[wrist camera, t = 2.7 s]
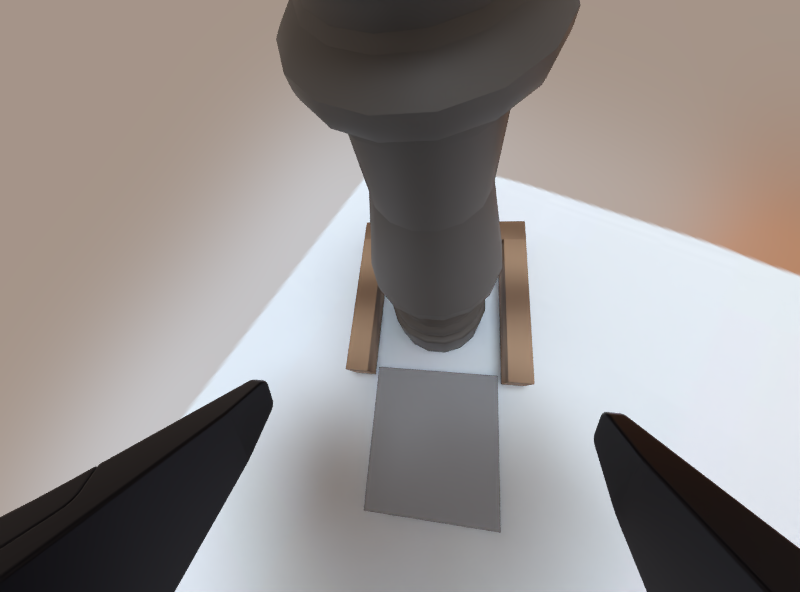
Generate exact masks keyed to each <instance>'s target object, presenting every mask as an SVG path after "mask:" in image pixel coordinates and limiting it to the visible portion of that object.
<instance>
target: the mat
mask: <svg viewBox="0 0 800 592" xmlns="http://www.w3.org/2000/svg"><path fill="white" fill-rule="evenodd" d="M364 510H365V511H372V512H378V513H384V514H390V515H396V516H402V517H408V518H415V519H421V520H427V521H433V522H439V523H445V524H451V525H458V526H464V527H470V528H476V529H482V530H488V531H494V532H501V528H500V478H499V429H498V379H497V376H491V375H478V374H465V373H452V372H439V371H426V370H413V369H400V368H387V367H379V376H378V385H377V394H376V403H375V412H374V422H373V431H372V440H371V449H370V458H369V468H368V477H367V486H366V495H365V505H364Z"/></svg>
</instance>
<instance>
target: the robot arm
mask: <svg viewBox="0 0 800 592" xmlns="http://www.w3.org/2000/svg"><path fill="white" fill-rule="evenodd" d="M272 407H273V400H272V396H271V393H270V390H269V387H268V384H267V382H266V381H263V380H250V381H248V382H246V383H245V384H243V385H241V386H239V387H237V388H236V389H234V390H232V391H230V392H228V393H227V394H225V395H223V396H221V397H219V398H218V399H216V400H214V401H212V402H210V403H209V404H207V405H205V406H203V407H201V408H200V409H198V410H196V411H194V412H192V413H191V414H189V415H187V416H185V417H183V418H182V419H180V420H178V421H176V422H174V423H173V424H171V425H169V426H167V427H166V428H164V429H162V430H160V431H158V432H157V433H155V434H153V435H151V436H149V437H148V438H146V439H144V440H142V441H140V442H138V443H137V444H135V445H133V446H131V447H130V448H128V449H126V450H124V451H122V452H121V453H119V454H117V455H115V456H113V457H111V458H110V459H108V460H106V461H104V462H102V463H101V464H99V465H98V467H93V468H92V469H90V470H88V471H86V472H84V473H83V474H81V475H79V476H77V477H76V478H74V479H72V480H70V481H68V482H66V483H65V484H63V485H61V486H59V487H57V488H55V489H54V490H52V491H50V492H48V493H46V494H44V495H42V496H40V497H39V498H37V499H35V500H33V501H31V502H29V503H27V504H25V505H23V506H21V507H20V508H17V509H15V510H13V511H11V512H9V513H7V514H5V515H4V516H2V517H0V592H175V590H176V588H177V587H178V585H179V583H180V581H181V579H182V578H183V576H184V574H185V572H186V571H187V569H188V567H189V565H190V564H191V562H192V560H193V558H194V556H195V555H196V553H197V551H198V549H199V548H200V546H201V544H202V542H203V541H204V539H205V537H206V535H207V533H208V532H209V530H210V528H211V526H212V525H213V523H214V521H215V519H216V518H217V516H218V514H219V512H220V510H221V509H222V507H223V505H224V503H225V502H226V500H227V498H228V496H229V495H230V493H231V491H232V489H233V487H234V486H235V484H236V482H237V480H238V479H239V477H240V475H241V473H242V472H243V470H244V468H245V466H246V464H247V462H248V460H249V458H250V456H251V454H252V452H253V450H254V448H255V446H256V443H257V441H258V439H259V437H260V435H261V432H262V430H263V428H264V426H265V424H266V421H267V419H268V417H269V415H270V412H271V410H272ZM594 444H595V448H596V451H597V454H598V458H599V461H600V464H601V468H602V471H603V475H604V478H605V481H606V485H607V488H608V491H609V495H610V498H611V501H612V505H613V508H614V511H615V514H616V516H617V519H618V522H619V524H620V527H621V529H622V532H623V534H624V537H625V539H626V542H627V544H628V546H629V549H630V551H631V554H632V556H633V559H634V561H635V564H636V566H637V569H638V571H639V574H640V576H641V578H642V581H643V583H644V586H645V588H646V591H647V592H800V548H798V547H797V546H796V545H794V544H793V543H792V542H790V541H789V540H788V539H787V538H785V537H784V536H783V535H781V534H780V533H779V532H777V531H776V530H775V529H773V528H772V527H771V526H770V525H768V524H767V523H766V522H764V521H763V520H762V519H760V518H759V517H758V516H756V515H755V514H754V513H753V512H751V511H750V510H749V509H747V508H746V507H745V506H743V505H742V504H741V503H739V502H738V501H737V500H736V499H734V498H733V497H732V496H730V495H729V494H728V493H726V492H725V491H724V490H722V489H721V488H720V487H719V486H717V485H716V484H715V483H713V482H712V481H711V480H709V479H708V478H707V477H705V476H704V475H703V474H702V473H700V472H699V471H698V470H696V469H695V468H694V467H692V466H691V465H690V464H689V463H687V462H686V461H685V460H683V459H682V458H681V457H679V456H678V455H677V454H675V453H674V452H673V451H672V450H670V449H669V448H668V447H666V446H665V445H664V444H662V443H661V442H660V441H658V440H657V439H656V438H655V437H653V436H652V435H651V434H649V433H648V432H647V431H645V430H644V429H643V428H641V427H640V426H639V425H638V424H636V423H635V422H634V421H632V420H631V419H630V418H628V417H627V416H626V415H624V414H621V413H611V412H604V413H603V414H602V415H601V417H600V420H599V423H598V426H597V428H596V431H595V434H594Z"/></svg>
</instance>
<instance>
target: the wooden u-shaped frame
mask: <svg viewBox="0 0 800 592" xmlns="http://www.w3.org/2000/svg"><path fill="white" fill-rule="evenodd" d="M499 224H500V231H501V239H502V270H501V272H500V274H499V307H500V348H501V384H506V385H518V386H527V385H532V384H534V368H533V351H532V335H531V318H530V301H529V284H528V268H527V251H526V234H525V221H511V222H499ZM383 304H384V293H383V292H382V291H381V290H380V288H379V287H378V284H377V281H376V278H375V274H374V271H373V267H372V264H371V228H370V223H367V226H366V233H365V240H364V247H363V254H362V261H361V268H360V274H359V281H358V288H357V295H356V302H355V309H354V316H353V323H352V330H351V336H350V343H349V350H348V357H347V364H346V369H347V370H351V371H354V372H358V373H370V374H376V366H377V357H378V348H379V339H380V330H381V321H382V313H383Z"/></svg>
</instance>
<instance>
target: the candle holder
mask: <svg viewBox="0 0 800 592" xmlns="http://www.w3.org/2000/svg"><path fill="white" fill-rule="evenodd" d="M579 7H580V1H579V0H289V2H288V4H287V7H286V10H285V13H284V15H283V18H282V21H281V24H280V27H279V30H278V34H277V39H276V40H277V44H278V49H279V53H280V58H281V62H282V67H283V72H284V74H285V76H286V78H287V80H288V82H289V85H290V86H291V88H292V90H293V91H294V93H295V94H296V96H297V97H298V98H299V99H300V100H301V101H302V102H303V103H304V104H305V105H306V106H307V107H308V108H310V109H311V110H312V111H313V112H314V113H315V114H316V115H317V116H318V117H319V118H320V119H321V120H322V121H323V122H325V123H326V124H327V125H328V126H329V127H330V128H331V129H334V130H338V131H341V132H345V133H348V135H349V137H350V140H351V143H352V146H353V149H354V151H355V154H356V157H357V160H358V162H359V165H360V168H361V170H362V173H363V176H364V179H365V182H366V184H367V187H368V190H369V201H370V228H371V264H372V267H373V271H374V274H375V278H376V281H377V284H378V287H379V288H380V290H381V291H382V292H383V293H384V295H385V296H386V297H387V298H388V299H389V300H390V302H391V303H392V304H393V306H394V309H395V312H396V316H397V319H398V322H399V323H400V325H401V327H402V328H403V330H404V332H405V333H406V334H407V335H408V336H409V338H410V339H411V340H412V341H413V342H414V344H416V345H418V346H420V347H422V348H424V349H426V350H428V351H436V352H448V351H451V350H454V349H457V348H460V347H462V346H463V345H464V344H465V343H466V342H467V341H469V340H470V339H471V338H472V337H473V335H474V333H475V331H476V329H477V327H478V325H479V323H480V320H481V318H482V316H483V313H484V311H485V299H486V298H487V297H488V296H489V295H490V293H491V291H492V289H493V287H494V285H495V283H496V280H497V278H498V276H499V274H500V272H501V270H502V239H501V231H500V224H499V215H498V206H497V197H496V188H495V177H496V172H497V168H498V163H499V158H500V154H501V150H502V145H503V140H504V136H505V132H506V127H507V123H508V118H509V113H510V110H511V108H512V107H514V106H515V105H516V104H518V103H519V102H520V101H522V100H523V99H524V98H525V97H527V96H528V95H529V94H531V93H532V92H533V91H535V90H536V89H537V88H538V87H540V86H541V85H542V83H543V82H544V81H545V79H546V77H547V75H548V73H549V72H550V70H551V68H552V66H553V64H554V62H555V60H556V58H557V56H558V55H559V52H560V51H561V48H562V47H563V45H564V43H565V41H566V39H567V37H568V36H569V34H570V32H571V30H572V27H573V25H574V22H575V19H576V16H577V13H578V11H579Z"/></svg>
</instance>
